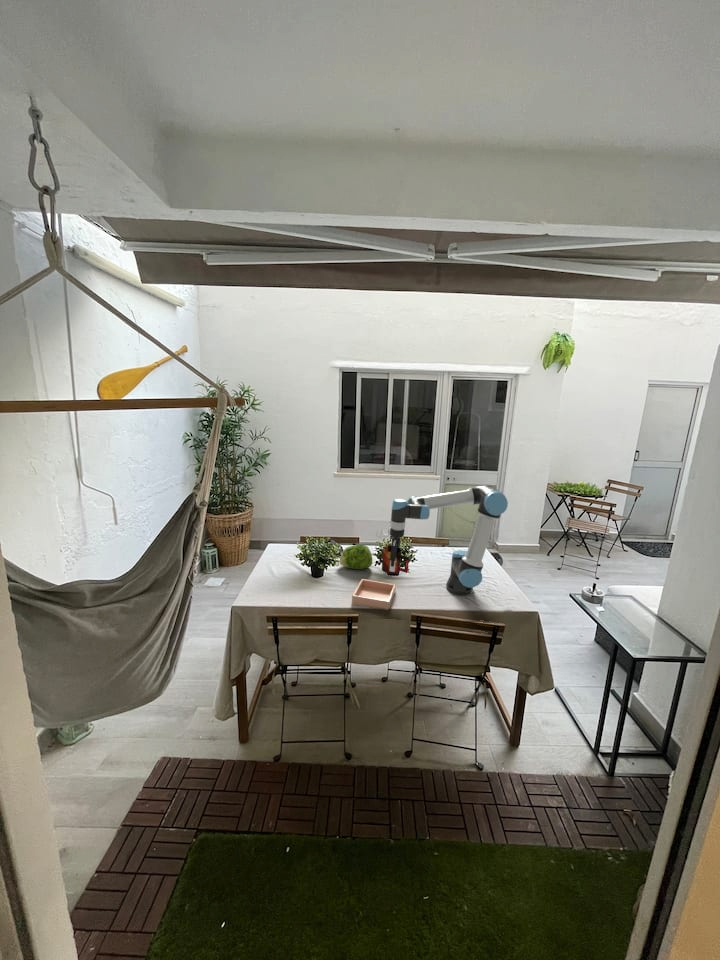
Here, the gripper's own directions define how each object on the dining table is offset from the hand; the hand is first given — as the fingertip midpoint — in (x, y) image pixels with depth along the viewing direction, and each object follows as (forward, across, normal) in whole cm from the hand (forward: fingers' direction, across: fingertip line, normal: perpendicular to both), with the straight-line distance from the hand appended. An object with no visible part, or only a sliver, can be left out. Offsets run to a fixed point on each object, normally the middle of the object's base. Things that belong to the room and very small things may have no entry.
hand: (393, 567), depth 220 cm
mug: (+2, 0, 0) cm, 2 cm away
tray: (+19, +2, -9) cm, 21 cm away
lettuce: (+19, -31, -29) cm, 46 cm away
